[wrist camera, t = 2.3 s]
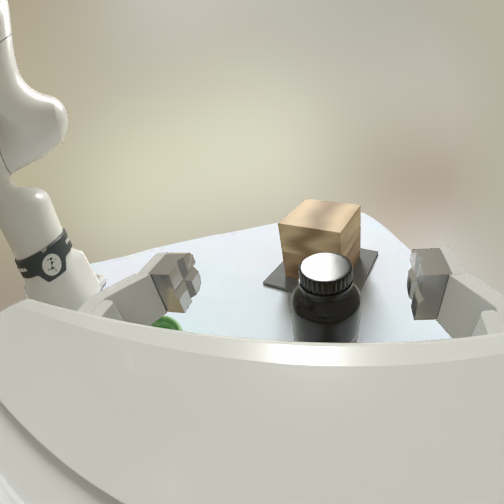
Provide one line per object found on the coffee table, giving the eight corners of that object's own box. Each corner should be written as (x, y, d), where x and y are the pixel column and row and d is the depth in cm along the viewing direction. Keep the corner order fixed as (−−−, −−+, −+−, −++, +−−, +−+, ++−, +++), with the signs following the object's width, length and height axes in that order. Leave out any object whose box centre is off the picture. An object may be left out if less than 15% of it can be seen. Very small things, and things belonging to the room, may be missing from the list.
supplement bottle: (352, 379, 26) (363, 293, 20) (289, 374, 28) (276, 289, 22) (357, 332, 31) (363, 246, 25) (302, 328, 34) (293, 245, 28)
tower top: (282, 251, 41) (277, 223, 38) (309, 224, 46) (306, 199, 44) (340, 263, 35) (340, 232, 33) (360, 232, 41) (360, 205, 39)
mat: (263, 284, 43) (263, 282, 43) (304, 240, 52) (304, 238, 52) (351, 308, 35) (351, 305, 35) (377, 253, 44) (377, 251, 44)
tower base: (285, 276, 43) (282, 251, 41) (311, 247, 49) (309, 224, 46) (340, 290, 38) (340, 263, 35) (359, 256, 43) (360, 232, 41)
